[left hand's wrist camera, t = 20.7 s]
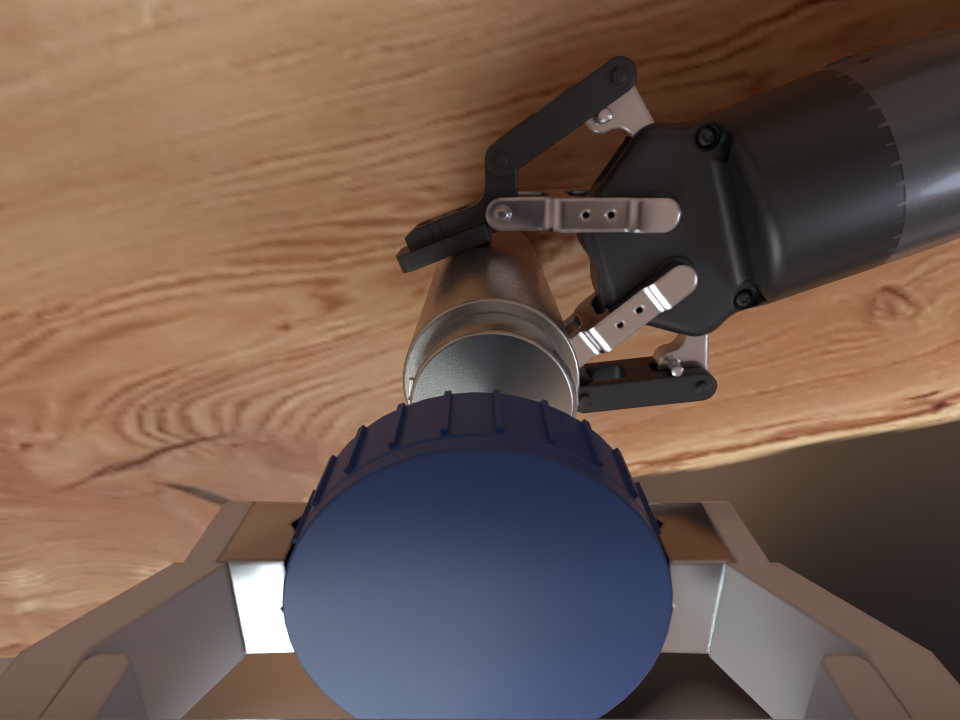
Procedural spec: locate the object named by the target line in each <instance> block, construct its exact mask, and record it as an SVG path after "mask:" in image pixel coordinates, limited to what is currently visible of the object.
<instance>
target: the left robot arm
mask: <svg viewBox="0 0 960 720" xmlns="http://www.w3.org/2000/svg"><path fill="white" fill-rule="evenodd" d="M306 505H307V503H303V502H254V501H230V502H227V503H225V504H223V506H222V507H221V508H220V510H219V511H218V513H217V514H216V516H215V517H214V519H213V520H212V522H211V523H210V524H209V526H208V527H207V529H206V530H205V532H204V533H203V535H202V536H201V538H200V539H199V541H198V542H197V544H196V545H195V547H194V548H193V550H192V551H191V553H190V554H189V555H188V557H187V558H186V560H185V561H184V563H173V564H172V565H170V566H168V567H166V568H165V569H163V570H161V571H160V572H158V573H156V574H154V575H153V576H151V577H149V578H147V579H146V580H144V581H142V582H141V583H139V584H137V585H135V586H134V587H132V588H130V589H128V590H127V591H125V592H123V593H121V594H120V595H118V596H116V597H115V598H113V599H111V600H109V601H108V602H106V603H104V604H102V605H101V606H99V607H97V608H96V609H94V610H92V611H90V612H89V613H87V614H85V615H83V616H82V617H80V618H78V619H76V620H75V621H73V622H71V623H70V624H68V625H66V626H64V627H63V628H61V629H59V630H57V631H56V632H54V633H52V634H50V635H49V636H47V637H45V638H44V639H42V640H40V641H38V642H37V643H35V644H33V645H31V646H30V647H28V648H26V649H25V650H23V651H21V652H20V654H19V655H18V656H17V657H16V658H15V659H14V661H13V662H12V663H11V664H10V665H9V666H8V667H7V669H6V670H5V671H4V672H3V673H2V674H1V675H0V720H960V685H959V684H958V683H957V681H956V680H955V679H954V678H953V677H952V676H951V674H950V673H949V672H948V671H947V670H946V669H945V667H944V666H943V665H942V664H941V663H940V661H939V660H938V659H937V658H936V657H935V656H934V654H933V653H932V652H930V651H929V650H927V649H925V648H924V647H922V646H920V645H919V644H917V643H915V642H913V641H912V640H910V639H908V638H907V637H905V636H903V635H901V634H900V633H898V632H896V631H895V630H893V629H891V628H889V627H888V626H886V625H884V624H883V623H881V622H879V621H877V620H876V619H874V618H872V617H871V616H869V615H867V614H866V613H864V612H862V611H860V610H859V609H857V608H855V607H854V606H852V605H850V604H848V603H847V602H845V601H843V600H842V599H840V598H838V597H836V596H835V595H833V594H831V593H830V592H828V591H826V590H825V589H823V588H821V587H819V586H818V585H816V584H814V583H813V582H811V581H809V580H807V579H806V578H804V577H802V576H801V575H799V574H797V573H795V572H794V571H792V570H790V569H789V568H787V567H785V566H784V565H782V564H780V563H770V562H769V561H768V559H767V558H766V556H765V555H764V553H763V552H762V550H761V549H760V547H759V546H758V544H757V543H756V541H755V540H754V538H753V537H752V535H751V534H750V532H749V531H748V529H747V528H746V526H745V525H744V523H743V522H742V520H741V519H740V517H739V516H738V514H737V513H736V511H735V510H734V508H733V507H732V505H731V504H730V503H728V502H726V501H712V502H697V503H649V505H650V508H651V510H652V512H653V514H654V516H655V519H656V521H657V523H658V525H659V528H660V530H661V532H662V534H660V535H657V537H658V539H659V542H660V544H661V546H662V548H663V551H664V553H665V557H666V560H667V563H668V566H669V569H670V573H671V580H672V588H673V607H672V616H671V621H670V626H669V631H668V634H667V637H666V640H665V642H664V645H663V648H662V650H661V652H673V653H707V654H709V657H710V658H712V659H713V660H714V661H715V662H716V663H717V664H718V665H719V666H720V667H721V668H722V669H723V670H724V671H725V672H726V673H727V674H728V675H729V676H730V677H731V678H732V679H733V680H734V681H735V682H736V683H737V684H738V685H739V686H740V687H741V688H742V689H743V690H744V691H745V692H747V693H748V694H749V695H750V696H751V697H752V698H753V699H754V700H755V701H756V702H757V703H758V704H759V705H760V706H761V707H762V708H763V709H764V710H765V711H766V712H767V713H768V714H769V715H770V716H771V717H772V718H773V719H180V718H181V717H182V716H183V715H184V714H185V713H187V712H188V711H189V710H190V709H191V708H192V707H193V706H194V705H195V704H196V703H197V702H198V701H199V700H200V699H201V698H202V697H203V696H204V695H205V694H206V693H207V692H208V691H209V690H210V689H212V688H213V687H214V686H215V685H216V684H217V683H218V682H219V681H220V680H221V679H222V678H223V677H224V676H225V675H226V674H227V673H228V672H229V671H230V670H231V669H232V668H233V667H234V666H236V665H237V664H238V663H239V662H240V661H241V660H242V659H243V658H244V657H245V654H246V653H280V652H294V649H293V647H292V645H291V643H290V640H289V637H288V633H287V630H286V626H285V622H284V613H283V604H282V597H283V581H284V577H285V573H286V569H287V564H288V561H289V558H290V556H291V554H292V551H293V549H294V547H295V544H292V543H291V540H292V537H293V535H294V532H295V530H296V528H297V526H298V523H299V521H300V519H301V517H302V514H303V512H304V510H305V508H306Z"/></svg>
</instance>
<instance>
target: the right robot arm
mask: <svg viewBox="0 0 960 720" xmlns="http://www.w3.org/2000/svg"><path fill="white" fill-rule="evenodd" d="M636 77H637V71H636V67H635V65H634V63H633V62H632V61H631V60H630V59H629V58H627V57H623V56H618V57H614V58H612V59H610V60H608V61H606V62H605V63H603V64H601V65H599V66H598V67H596V68H595V69H594V70H592V71H591V72H589V73H588V74H587V75H585V76H584V77H583V78H581V79H580V80H578V81H577V82H576V83H574V84H573V85H572V86H570V87H569V88H567V89H566V90H565V91H563V92H562V93H561V94H559V95H558V96H556V97H555V98H554V99H552V100H551V101H550V102H548V103H547V104H546V105H544V106H543V107H541V108H540V109H539V110H537V111H536V112H535V113H533V114H532V115H530V116H529V117H528V118H526V119H525V120H524V121H522V122H521V123H519V124H518V125H517V126H515V127H514V128H513V129H511V130H510V131H508V132H507V133H506V134H504V135H503V136H502V137H500V138H499V139H497V140H496V141H495V142H493V143H492V144H491V145H490V146H489V147H488V149H487V151H486V156H485V182H486V186H485V190H484V192H483V194H482V196H481V197H480V198H479V199H478V200H476V201H474V202H472V203H470V204H467V205H465V206H462V207H459V208H457V209H454V210H452V211H449V212H447V213H444V214H442V215H439V216H436V217H434V218H432V219H429V220H426V221H424V222H421V223H419V224H418V225H417V226H416V227H415V228H414V229H413V230H411V231H410V232H409V234H408V235H407V236H406V238H405V240H406V243H407V245H408V246H406V247H404V248H402V249H401V250H400V251H399V253H398V254H397V255H396V257H397V260H398V262H399V264H400V267H401V269H402V271H403V273H407V272H410V271H413V270H416V269H418V268H421V267H424V266H426V265H429V264H432V263H434V262H437V261H440V260H442V259H445V258H447V257H450V256H453V255H455V254H458V253H461V252H463V251H465V250H468V249H471V248H474V247H476V246H479V245H482V244H484V243H487V242H490V241H492V233H495V232H498V231H551V232H559V233H577V237H578V240H579V242H580V244H581V245H582V247H583V248H584V250H585V251H586V253H587V254H588V256H589V258H590V275H591V280H592V283H593V286H594V289H595V292H594V293H593V294H591V295H590V296H589V297H588V298H586V299H585V300H584V301H583V302H581V303H580V304H579V305H578V306H577V307H576V309H575V311H574V312H573V314H572V315H571V316H569V317H568V318H567V319H566V320H564V321H563V323H564V325H565V327H566V330H567V332H568V335H569V337H570V340H571V342H572V345H573V347H574V350H575V353H576V356H577V359H578V364H579V369H580V387H579V394H578V403H579V405H578V408H577V411H578V412H581V413H590V412H599V411H609V410H618V409H627V408H637V407H646V406H655V405H665V404H674V403H683V402H693V401H702V400H706V399H708V398H710V397H711V396H712V395H713V394H714V393H715V391H716V389H717V382H716V380H715V378H714V377H713V376H712V375H711V374H710V372H709V370H708V334H709V333H711V332H713V331H714V330H716V329H717V328H718V327H719V326H720V325H721V324H722V323H723V322H724V321H725V320H726V319H728V318H729V317H730V316H732V315H733V314H735V313H737V312H739V311H741V310H744V309H748V308H753V307H757V306H762V305H765V304H769V303H772V302H775V301H778V300H781V299H784V298H787V297H790V296H793V295H796V294H798V293H801V292H804V291H807V290H810V289H813V288H816V287H819V286H822V285H825V284H828V283H831V282H834V281H837V280H839V279H842V278H846V277H849V276H852V275H855V274H858V273H860V272H863V271H866V270H869V269H872V268H875V267H878V266H880V265H883V264H886V263H889V262H892V261H895V260H898V259H901V258H904V257H907V256H910V255H913V254H916V253H919V252H922V251H925V250H928V249H931V248H934V247H937V246H940V245H942V244H945V243H947V242H950V241H953V240H955V239H957V238H960V24H958V25H955V26H952V27H949V28H946V29H942V30H939V31H935V32H931V33H926V34H922V35H918V36H914V37H910V38H907V39H903V40H899V41H896V42H894V43H891V44H888V45H885V46H882V47H880V48H877V49H874V50H872V51H869V52H866V53H864V54H861V55H859V56H858V55H855V56H851V57H845V58H842V59H840V60H837V61H835V62H833V63H831V64H829V65H828V66H826V67H825V68H824V69H823V70H821V71H818V72H815V73H812V74H810V75H807V76H805V77H802V78H800V79H797V80H795V81H792V82H789V83H787V84H784V85H782V86H779V87H777V88H774V89H772V90H769V91H766V92H764V93H761V94H759V95H756V96H754V97H751V98H749V99H746V100H743V101H741V102H738V103H736V104H733V105H731V106H728V107H726V108H723V109H720V110H718V111H715V112H713V113H710V114H708V115H705V116H703V117H700V118H697V119H695V120H692V121H689V122H686V123H681V124H672V123H668V122H654V121H653V119H652V117H651V115H650V113H649V111H648V109H647V108H646V106H645V104H644V102H643V100H642V98H641V97H640V95H639V93H638V91H637V89H636V87H635V85H634V84H635V82H636ZM580 125H583V126H584V128H585V129H586V130H588V131H589V132H591V133H599V134H601V133H606V132H608V131H610V130H612V129H619V130H621V131H622V132H624V133H625V135H626V136H627V137H626V138H625V140H624V141H623V143H622V144H621V146H620V147H619V148H618V150H617V151H616V153H615V154H614V156H613V157H612V158H611V160H610V161H609V163H608V164H607V166H606V167H605V168H604V170H603V171H602V173H601V174H600V176H599V177H598V178H597V180H596V181H595V183H594V184H593V186H592V187H591V189H547V190H535V191H518V169H520V168H521V167H523V166H524V165H525V164H527V163H528V162H530V161H531V160H532V159H534V158H535V157H537V156H538V155H540V154H541V153H542V152H544V151H545V150H547V149H548V148H549V147H551V146H552V145H554V144H555V143H556V142H558V141H559V140H561V139H562V138H564V137H565V136H566V135H568V134H569V133H571V132H572V131H573V130H575V129H576V128H578V127H579V126H580ZM619 322H620V324H618V323H619ZM644 325H648V326H652V327H656V328H660V329H663V330H667V331H671V332H675V333H679V334H678V336H677V337H676V339H675V340H673V341H672V342H671V343H668V344H665V345H662V346H660V347H658V348H657V349H656V350H655V352H654V354H653V356H650V357H641V358H632V359H624V360H615V361H606V362H597V363H588V364H586V363H587V362H588V361H589V360H591V359H592V358H593V357H595V356H596V355H598V354H600V353H606V352H609V351H610V350H612V349H614V348H615V347H616V346H617V345H619V344H620V343H621V342H623V341H624V340H625V339H627V338H628V337H629V336H631V335H632V334H633V333H635V332H636V331H637V330H639V329H640V328H641V327H643V326H644Z"/></svg>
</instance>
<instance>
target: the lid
mask: <svg viewBox="0 0 960 720" xmlns="http://www.w3.org/2000/svg"><path fill="white" fill-rule="evenodd" d="M660 534H662V532H661V530H660V528H659V525H658V523H657V521H656V519H655V516H654V514H653V512H652V510H651V508H650V505H649V503H648V501H647V499H646V496H645V494H644V492H643V490H642V488H641V485H640V483H639V482H636V483H634V481H633V479H632V477H631V474H630V472H629V470H628V467H627V465H626V463H625V461H624V458H623V456H622V454H621V451H620V450H619V449H618V448H616V449H614V450H613V449H612V448H611V447H610V446H609V445H608V444H607V443H606V442H605V441H604V440H603V439H602V438H601V437H600V436H599V435H598V434H597V433H595V432H594V431H593V430H592V429H591V426H590V423H589V422H588V421H586V420H585V419H584V420H583V421H582V422H581V421H579V420H577V419H575V418H574V417H572V416H570V415H569V414H567V413H565V412H563V411H561V410H559V409H556V408H554V407H551V406H549V403H548V401H547V400H544V399H542V400H541V402H538V401H534V400H531V399H527V398H524V397H520V396H514V395H508V394H501V390H496V389H494V392H493V393H488V392H467V393H455V394H452V392H451V390H450V391H445V392H444V395H442V396H437V397H432V398H428V399H424V400H421V401H418V402H415V403H412V404H409V405H407V406H406V405H405V403H401V404H399V405H398V407H397V410H395V411H393V412H391V413H389V414H387V415H385V416H383V417H382V418H380V419H379V420H377V421H376V422H374V423H373V424H371V425H370V426H368V427H365V426H364V425H362V426H361V427H360V428H359V429H358V432H357V434H356V437H355V438H354V439H352V440H351V441H350V442H349V443H348V444H347V445H346V447H345V448H344V449H343V450H342V451H341V452H340V454H339V455H338V456H337V457H335V456H334V455H332V456H331V458H330V459H329V461H328V463H327V466H326V468H325V470H324V473H323V475H322V477H321V479H320V482H319V484H318V486H317V489H316V490H313V492H312V494H311V496H310V499H309V501H308V503H307V505H306V508H305V510H304V512H303V514H302V517H301V519H300V521H299V523H298V526H297V528H296V530H295V532H294V535H293V537H292V540H291V543H292V544H295V547H294V549H293V551H292V554H291V556H290V558H289V561H288V564H287V569H286V573H285V577H284V581H283V597H282V604H283V613H284V622H285V626H286V630H287V633H288V637H289V640H290V643H291V645H292V647H293V649H294V652H295V654H296V656H297V658H298V660H299V662H300V663H301V665H302V666H303V668H304V669H305V671H306V672H307V674H308V675H309V677H310V678H311V679H312V680H313V681H314V683H315V684H316V685H317V686H318V687H319V688H320V689H321V691H322V692H323V693H324V694H326V695H327V696H328V697H329V698H330V699H331V700H332V701H333V702H335V703H336V704H337V705H338V706H339V707H341V708H342V709H344V710H345V711H346V712H348V713H349V714H351V715H352V716H354V717H355V718H357V719H597V718H599V717H600V716H602V715H604V714H605V713H607V712H608V711H610V710H611V709H612V708H613V707H615V706H616V705H617V704H619V703H620V702H621V701H622V700H624V699H625V698H626V697H627V696H628V695H629V694H630V693H631V692H632V691H633V690H634V689H635V688H636V687H637V686H638V685H639V684H640V683H641V681H642V680H643V679H644V677H645V676H646V675H647V673H648V672H649V671H650V670H651V668H652V666H653V665H654V663H655V661H656V659H657V658H658V656H659V654H660V652H661V650H662V648H663V645H664V642H665V640H666V637H667V634H668V631H669V626H670V621H671V616H672V607H673V588H672V580H671V573H670V569H669V566H668V563H667V560H666V557H665V553H664V551H663V548H662V546H661V544H660V542H659V539H658V537H657V535H660Z"/></svg>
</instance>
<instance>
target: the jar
mask: <svg viewBox="0 0 960 720" xmlns="http://www.w3.org/2000/svg"><path fill="white" fill-rule="evenodd" d="M579 387H580V369H579V364H578V359H577V356H576V353H575V350H574V347H573V345H572V342H571V340H570V337H569V335H568V332H567V330H566V327H565V325H564V323H563V320H562V318H561V315H560V313H559V310H558V308H557V305H556V303H555V300H554V298H553V295H552V293H551V290H550V288H549V285H548V283H547V280H546V278H545V275H544V273H543V270H542V268H541V265H540V263H539V260H538V258H537V255H536V253H535V250H534V248H533V246H532V244H531V242H530V240H529V239H528V237H527V236H526V235H525V234H524V233H523V232H522V231H498V232H495V233H492V241H490V242H487V243H484V244H482V245H479V246H476V247H474V248H471V249H468V250H465V251H463V252H461V253H458V254H455V255H453V256H450V257H447V258H445V259H442V260H440V261H439V263H438V266H437V269H436V271H435V274H434V277H433V280H432V283H431V286H430V289H429V292H428V295H427V298H426V300H425V303H424V306H423V309H422V312H421V315H420V318H419V321H418V324H417V327H416V329H415V332H414V335H413V338H412V341H411V344H410V347H409V350H408V353H407V356H406V360H405V363H404V370H403V389H404V395H405V399H406V402H407V405H409V404H412V403H415V402H418V401H421V400H424V399H428V398H432V397H437V396H442V395H444V392H445V391H450V390H451V392H452V394H455V393H467V392H488V393H493V392H494V389H496V390H501V394H508V395H514V396H520V397H524V398H527V399H531V400H534V401H538V402H541V400H542V399H544V400H547V401H548V403H549V406H551V407H554V408H556V409H559V410H561V411H563V412H565V413H567V414H569V415H570V416H572V417H574V418H575V419H576V414H577V408H578V405H579V403H578V394H579Z"/></svg>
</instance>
